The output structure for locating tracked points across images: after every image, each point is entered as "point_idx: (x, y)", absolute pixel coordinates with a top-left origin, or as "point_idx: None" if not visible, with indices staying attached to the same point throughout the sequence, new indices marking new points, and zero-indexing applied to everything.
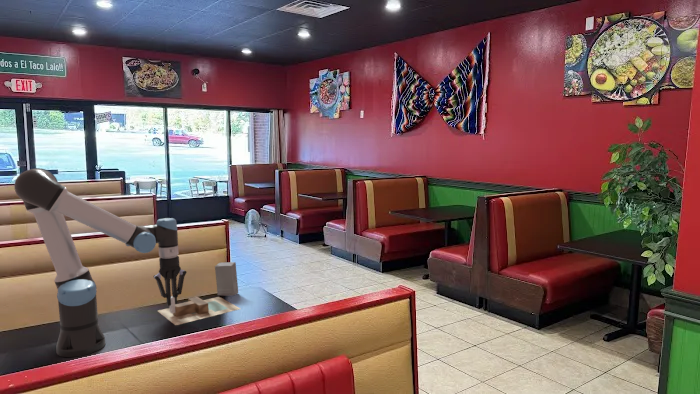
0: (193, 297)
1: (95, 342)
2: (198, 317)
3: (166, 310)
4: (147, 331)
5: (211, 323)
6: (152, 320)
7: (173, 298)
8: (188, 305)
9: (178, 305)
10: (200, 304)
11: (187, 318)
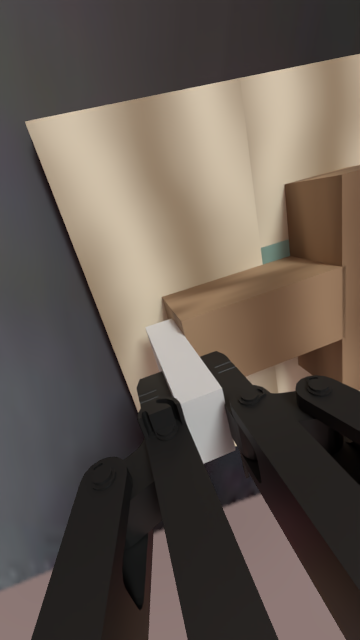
0: None
1: None
2: None
3: (116, 166)
4: (5, 476)
5: None
6: (9, 300)
7: (219, 449)
8: (290, 354)
9: (227, 351)
10: (356, 379)
11: None
